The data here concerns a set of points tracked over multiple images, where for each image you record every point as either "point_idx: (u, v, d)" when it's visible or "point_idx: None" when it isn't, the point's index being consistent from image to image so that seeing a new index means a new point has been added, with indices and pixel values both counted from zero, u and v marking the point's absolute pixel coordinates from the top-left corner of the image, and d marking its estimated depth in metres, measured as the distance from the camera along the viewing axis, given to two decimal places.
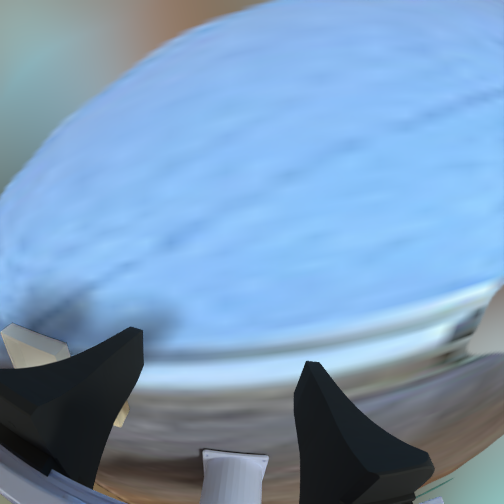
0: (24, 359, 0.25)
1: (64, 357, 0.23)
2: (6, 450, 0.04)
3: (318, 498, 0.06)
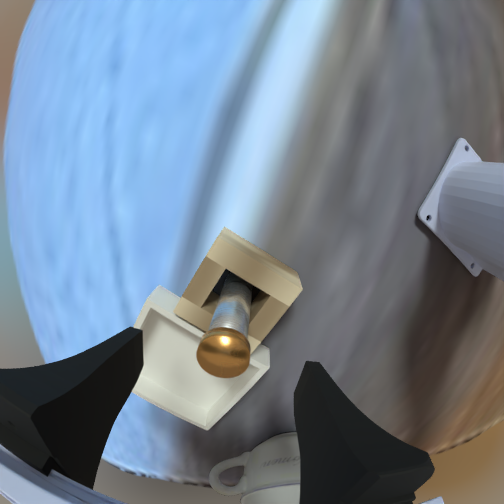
0: (169, 390, 0.23)
1: (168, 298, 0.20)
2: (6, 450, 0.04)
3: (319, 498, 0.06)
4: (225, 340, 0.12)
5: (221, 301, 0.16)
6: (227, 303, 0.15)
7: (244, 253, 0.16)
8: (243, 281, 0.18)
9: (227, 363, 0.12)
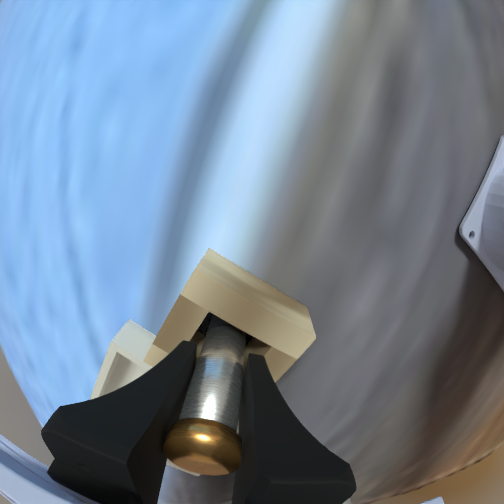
0: None
1: (139, 339, 0.14)
2: (70, 491, 0.04)
3: (239, 495, 0.06)
4: (202, 442, 0.06)
5: (202, 360, 0.10)
6: (210, 365, 0.10)
7: (234, 292, 0.11)
8: None
9: (208, 463, 0.07)
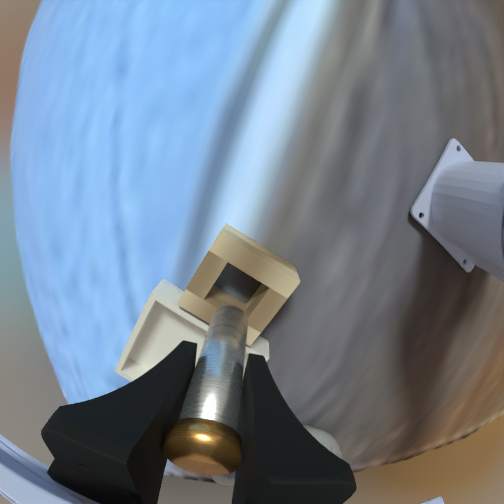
0: None
1: (172, 292, 0.21)
2: (70, 491, 0.04)
3: (239, 495, 0.06)
4: (202, 442, 0.06)
5: (202, 360, 0.10)
6: (210, 366, 0.10)
7: (245, 247, 0.18)
8: (235, 324, 0.13)
9: (208, 463, 0.07)
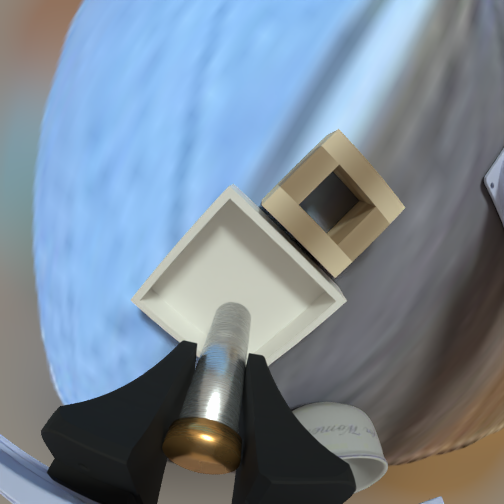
0: (199, 329, 0.20)
1: (246, 198, 0.17)
2: (70, 491, 0.04)
3: (239, 495, 0.06)
4: (202, 442, 0.06)
5: (204, 358, 0.10)
6: (211, 364, 0.10)
7: None
8: (237, 321, 0.13)
9: (207, 462, 0.07)
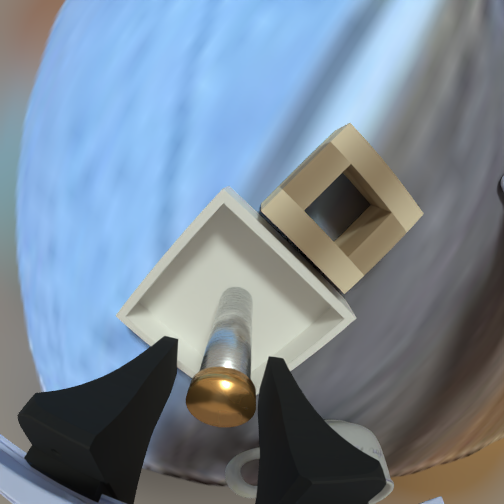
0: (193, 346, 0.18)
1: (243, 202, 0.15)
2: (46, 477, 0.04)
3: (267, 497, 0.06)
4: (224, 385, 0.08)
5: (216, 327, 0.12)
6: (224, 330, 0.12)
7: (375, 151, 0.12)
8: (242, 300, 0.15)
9: (226, 411, 0.09)
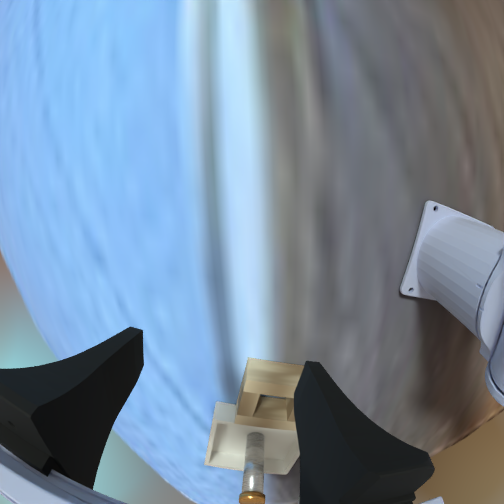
0: None
1: (227, 410, 0.24)
2: (6, 450, 0.04)
3: (318, 498, 0.06)
4: (247, 499, 0.17)
5: (244, 467, 0.22)
6: (246, 470, 0.21)
7: (269, 383, 0.21)
8: (254, 444, 0.24)
9: (255, 503, 0.18)
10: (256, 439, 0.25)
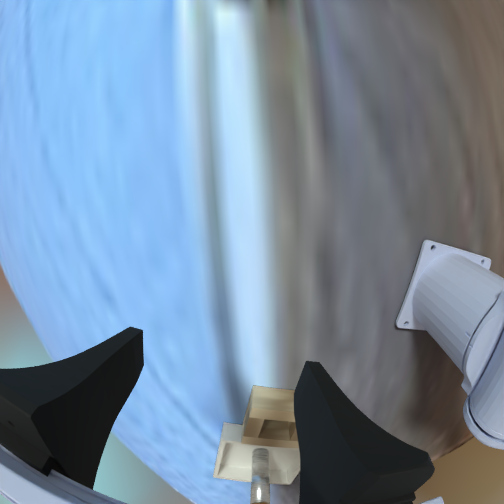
0: None
1: (234, 431, 0.25)
2: (6, 450, 0.04)
3: (319, 498, 0.06)
4: None
5: (251, 481, 0.23)
6: (254, 483, 0.22)
7: (272, 410, 0.21)
8: (260, 459, 0.25)
9: None
10: (261, 454, 0.26)
